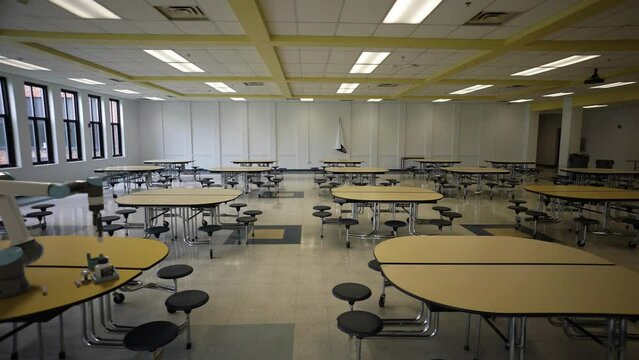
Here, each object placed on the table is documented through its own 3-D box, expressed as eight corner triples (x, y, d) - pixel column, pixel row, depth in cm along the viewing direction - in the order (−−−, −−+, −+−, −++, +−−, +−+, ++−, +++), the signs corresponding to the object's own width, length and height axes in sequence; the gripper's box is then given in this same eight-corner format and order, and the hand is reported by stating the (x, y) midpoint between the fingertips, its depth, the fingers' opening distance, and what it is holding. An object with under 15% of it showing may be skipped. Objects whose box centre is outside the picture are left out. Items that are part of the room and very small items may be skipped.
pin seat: (43, 294, 178) (43, 292, 178) (42, 288, 186) (42, 285, 186) (80, 285, 189) (80, 283, 189) (78, 280, 196) (78, 277, 196)
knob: (82, 282, 193) (81, 273, 193) (80, 280, 197) (80, 271, 196) (91, 280, 196) (90, 271, 196) (90, 278, 200) (89, 269, 199)
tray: (94, 283, 192) (94, 279, 191) (91, 277, 201) (91, 273, 200) (119, 278, 200) (118, 274, 199) (114, 271, 209) (114, 268, 208)
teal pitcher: (104, 267, 216) (103, 254, 215) (86, 270, 211) (85, 256, 210) (104, 263, 223) (103, 250, 222) (87, 265, 219) (86, 252, 218)
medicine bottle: (101, 280, 195) (99, 260, 194) (95, 277, 199) (93, 257, 197) (114, 276, 201) (112, 256, 199) (108, 273, 205) (106, 254, 203)
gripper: (107, 206, 188) (110, 243, 191) (100, 199, 207) (102, 233, 209) (91, 208, 183) (94, 245, 186) (85, 201, 202) (87, 235, 204)
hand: (98, 239), depth 197 cm, fingers open, 13 cm apart
